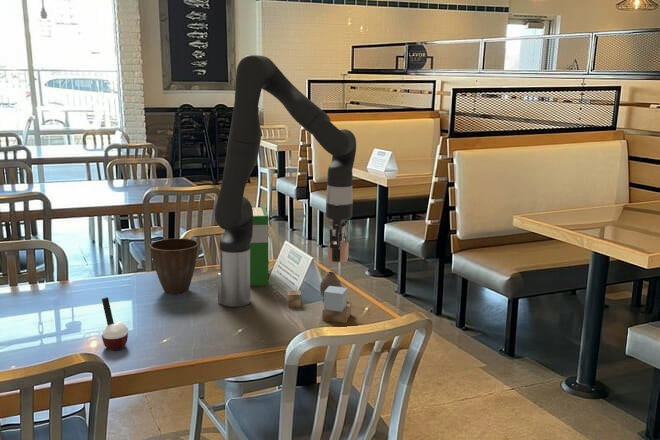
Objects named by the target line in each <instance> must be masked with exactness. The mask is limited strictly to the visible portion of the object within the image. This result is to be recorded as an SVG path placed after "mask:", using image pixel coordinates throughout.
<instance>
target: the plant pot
mask: <svg viewBox="0 0 660 440" xmlns="http://www.w3.org/2000/svg"><path fill="white" fill-rule="evenodd" d="M149 248H150V252H151V257H152V262H153V265H154V269H155V272H156V274H157V278H158V280H159V283H160V285H161V287H162V289H163V292H164V294H166V295H169V296H179V295H184V294H186V293H188V292H189V289H190V287H191V284H192V279H193V276H194V272H195V267H196V264H197V257H198V249H199V242H198V241H197V240H195V239H190V238H167V239H166V238H165V239H161V240H156V241H153V242H151V243H150V245H149Z"/></svg>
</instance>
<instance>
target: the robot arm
mask: <svg viewBox="0 0 660 440" xmlns="http://www.w3.org/2000/svg"><path fill="white" fill-rule="evenodd" d="M234 86H235V89H234V102H233V103H234V104H233V109H232V115H231V116H232V117H231V122H230V123H231V124H230V128H229V129H230V130H229V135H228V140H227V147H226V154H225V155H226V156H225V161H224V165H223V166H224V167H223V174H222V175H223V176H222V182H221V186H220V189H219V193H218V196H217V200H216V204H215V208H214V219H215V222H216V224H217V226H219V228H221V229H222V230H224V232H223V235H222V236H221V238H220V240H219V273H218V274H217V304H219V305H220V304H221V305H222V306H226V307H230V308H231V307H233V308H237V307H238V308H239V307H243V306H244V307H245V306H247V305H249V304H250V303H251V286H250V242H251V240H252V234H253V209H252V208H253V206H252V203H251V202H250V200H249V199H248V198H246V197H245V196H244V193H245V189H246V186H247V182H248V180H249V179H250V176H251V174H252V172H253V170H254V168H255V167H256V163H257V160H258V159H259V158H258V157H259V152H260V147H261V140H262V128H261V122H260V118H259V117H260V116H259V105H260V104H259V103H260V97H261V93H262V90H263V91H265V92H267V93H269V94H270V95H272V96H273V97H274V98H275V99H276V100H278V101H279V102H280V103H281V104H282V105H283V106H284V108H285V109H286V110H287V112H288V113H289V115H290V116H291V117H292V119H294V121H296V122H297V123H298V124H299V125H300V126H301V127H302V128H303V129H304V130H306V132H308V133H309V134H310V135H312V136H313V138H314V139H315V140H316V141H317V143H318V144H319V145H320V146H321V147H322V148H323V149H324V151H326V152H327V153H329V154H330V155H331V156H332V158H331V163H330V165H329V166H328V168H327V186H326V192H325V193H326V195H325V196H326V197H325V216H326V218H328V219H331V220H332V223H331V224H330V229H329V243H330V248H332V261H333V262H332V263H336V262H339V261H340V248H341V241H344V242H346V240H347V232H348V231H347V229H348V220H349V219H352V218H353V205H354V203H353V202H354V201H353V199H354V198H353V197H354V193H353V169H354V163H355V158H356V152H357V139H356V136H355V134H354V133H353V132H352V131H351V130H350V129H343V128H342V129H339V128H338V127H337V126H336V125H335V124H334V123H333V122H332V121H331V118H330V116H329V115H328V114H327V113H326V112H325V111H324V110H323V109H322V108H320V107H319V106H318V105H316V104H315V103H314V102H313V101H312V100H311V99H309V98H308V97H307V96H306V95H305V94H303V93H302V92H301V91H300V90H299V89H298V88H297V87H296V86H295V85H294V84H293V83H292V82H291V81H290V80H289V79H288V77H286V76H285V74H284V73H283V72H282V70H280V69H279V68H278V66H277V65H276V64H275V63H274V62H273V60H271V59H270V58H269V57H268V56H264V55H258V54H257V55H256V54H248V55H245V56H243V57H242V58H241V59H240V60H239V62H238V64H237V68H236V74H235V85H234ZM334 241H335V242H337V244H334Z"/></svg>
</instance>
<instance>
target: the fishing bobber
mask: <svg viewBox="0 0 660 440" xmlns="http://www.w3.org/2000/svg"><path fill="white" fill-rule="evenodd" d="M101 302H102V307H103V310H104V315H105V319H106V324H107V325H106V326H105V327H104V328H103V330H102V335H101V340H102V343H103V346H104V347H105V348H106V349H108V350H109V351H118V349H119V350H121V349H123V348H125V346H126V345H127V342H128V338H129V333H128V332H129V328H128V327H127V325H126V324H125V323H124V322H122V321H121V320H119V321H116V322H115V321H114V318H113V313H112V308H111V304H110V301H109V297H102V298H101Z"/></svg>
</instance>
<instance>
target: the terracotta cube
mask: <svg viewBox="0 0 660 440" xmlns="http://www.w3.org/2000/svg"><path fill="white" fill-rule="evenodd" d="M328 243H329V244H328V246H327V262H328V263H334V262H333V261H332V248H330V242H328ZM334 244H337V242H335V241H334ZM348 259H349V241H345V242H344V241H341V248H340V261H339V262H335V263H338V264H346V262H347V261H348Z"/></svg>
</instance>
